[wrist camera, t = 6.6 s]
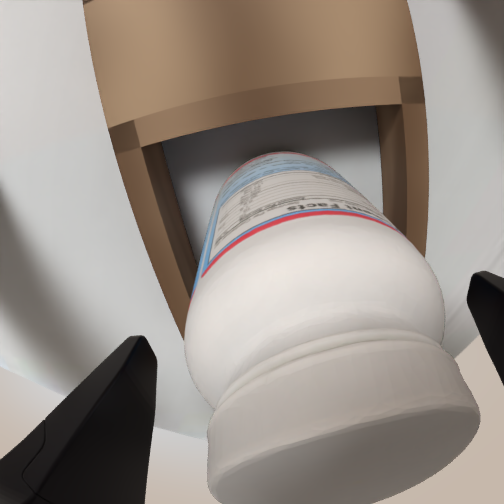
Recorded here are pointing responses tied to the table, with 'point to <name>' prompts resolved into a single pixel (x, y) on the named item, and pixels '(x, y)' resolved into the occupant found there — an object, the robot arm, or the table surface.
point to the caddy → (252, 96)
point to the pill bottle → (319, 344)
